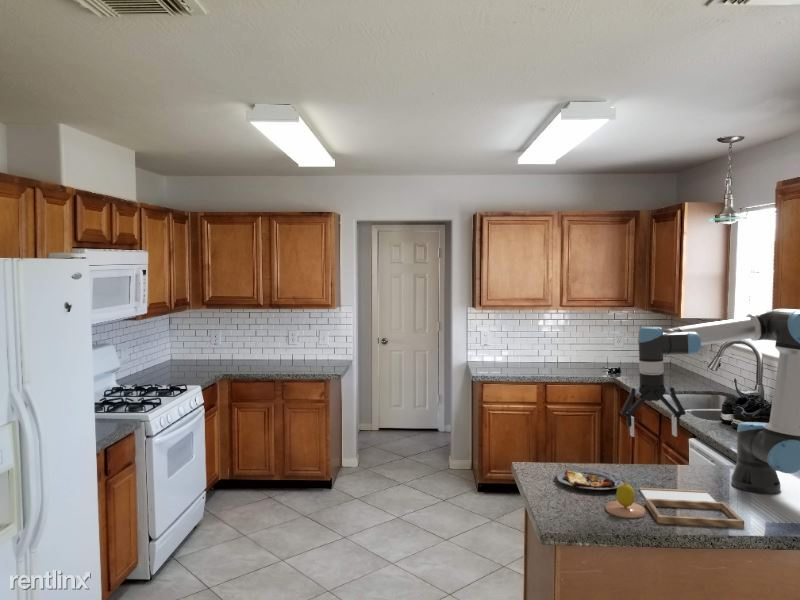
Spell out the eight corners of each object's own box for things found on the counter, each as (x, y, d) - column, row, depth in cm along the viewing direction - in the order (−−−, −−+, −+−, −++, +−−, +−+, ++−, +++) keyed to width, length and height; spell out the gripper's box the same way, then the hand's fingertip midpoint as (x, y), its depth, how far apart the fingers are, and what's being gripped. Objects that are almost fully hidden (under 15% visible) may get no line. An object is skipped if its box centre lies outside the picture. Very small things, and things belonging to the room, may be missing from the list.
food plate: (629, 496, 201) (629, 486, 201) (559, 493, 206) (559, 483, 206) (617, 475, 226) (617, 466, 226) (555, 472, 231) (555, 463, 231)
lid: (705, 493, 204) (705, 490, 204) (719, 507, 191) (720, 504, 191) (639, 490, 208) (639, 487, 208) (648, 504, 195) (648, 501, 195)
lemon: (613, 504, 192) (613, 480, 191) (629, 504, 192) (629, 480, 192) (621, 511, 186) (621, 486, 186) (637, 510, 187) (638, 485, 186)
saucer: (640, 504, 194) (640, 501, 194) (649, 519, 182) (649, 516, 182) (602, 502, 196) (602, 499, 196) (609, 517, 184) (609, 513, 184)
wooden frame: (723, 507, 191) (723, 501, 191) (744, 527, 176) (744, 521, 175) (644, 503, 195) (644, 497, 195) (658, 523, 179) (658, 516, 179)
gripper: (686, 370, 199) (688, 432, 200) (610, 372, 202) (612, 433, 203) (694, 374, 192) (696, 438, 192) (615, 375, 195) (617, 438, 196)
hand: (653, 435), depth 198 cm, fingers open, 13 cm apart
